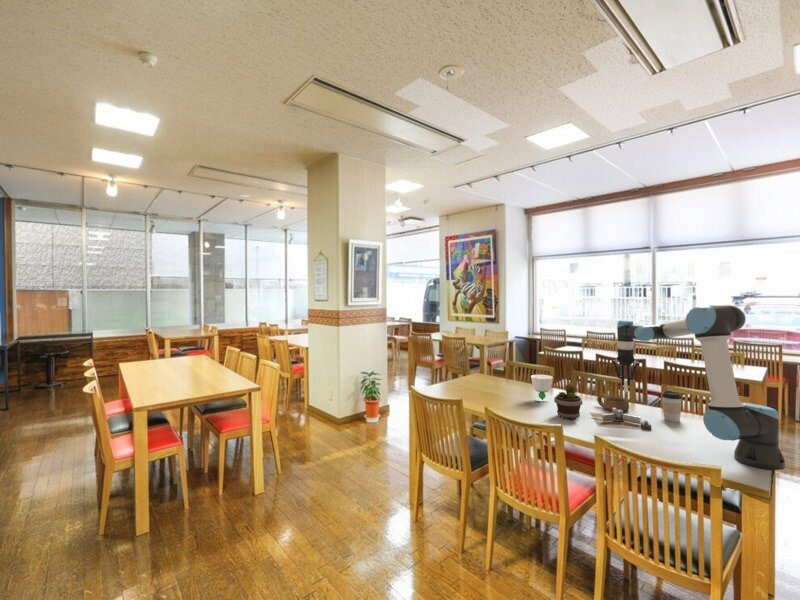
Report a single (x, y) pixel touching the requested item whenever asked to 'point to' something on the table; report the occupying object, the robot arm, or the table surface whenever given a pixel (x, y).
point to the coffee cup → (671, 406)
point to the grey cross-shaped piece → (620, 417)
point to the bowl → (613, 403)
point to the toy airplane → (620, 423)
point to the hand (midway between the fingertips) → (626, 391)
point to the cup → (541, 384)
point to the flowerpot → (568, 403)
